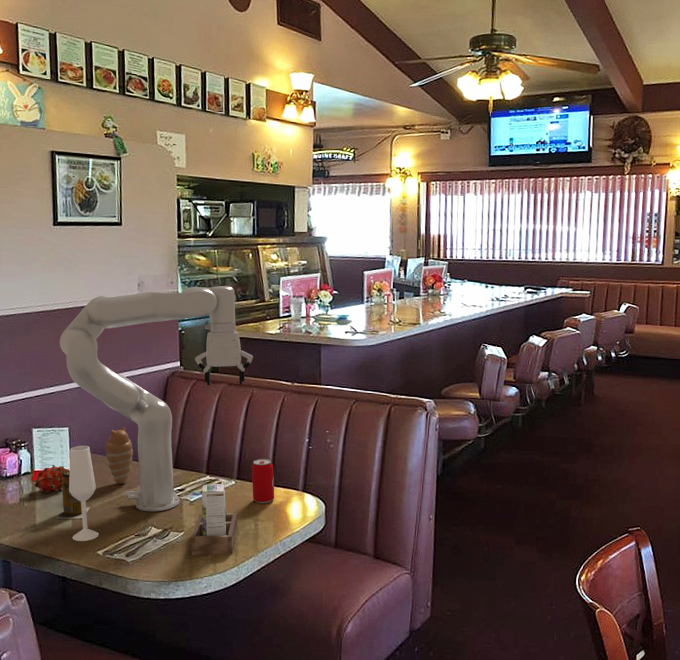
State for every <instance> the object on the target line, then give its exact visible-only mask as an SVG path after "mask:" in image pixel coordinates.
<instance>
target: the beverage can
mask: <svg viewBox="0 0 680 660" xmlns="http://www.w3.org/2000/svg"><path fill="white" fill-rule="evenodd" d="M251 478H252V479H251V480H252V483H251V484H252V499H253V501H254V502H256V503H258V504H269V503H270V502H272V501H273V500H274V499H275V487H274V486H275V480H274V465H273V463H272V460H270V459H267V458H258V459H256V460H255V459H254V460H253V464H252V465H251Z"/></svg>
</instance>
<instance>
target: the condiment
mask: <svg viewBox="0 0 680 660" xmlns="http://www.w3.org/2000/svg"><path fill="white" fill-rule="evenodd" d="M69 477H70V469H69V470H68V471H66V472H64V473H63V482H62V488H61V489H62V490H61V491H62V493H61V494H62V506H63V507H62V508H63V510H61V512H60V513H59V514H58V515H57V516H56V519H58V520H59V519H61V520H64V519H65V520H68V519H69V520H72V519H82V508H81V501H79V500H77V499H76V498H74V497H73V496H72V495H71V493H70V492H69ZM90 508H91V506H89V507H88V506H86V513H88V512H89V510H90Z"/></svg>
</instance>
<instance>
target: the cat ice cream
mask: <svg viewBox="0 0 680 660" xmlns="http://www.w3.org/2000/svg"><path fill="white" fill-rule="evenodd" d="M129 437H130V436H129V435H128V433H127V432H126V426H123V427H121V428H120V429H117V430H114V429H111V430H110V435H109V437H108V440H107V442H106V444H105V446H104V451H105V452H106V456H105V457H106V460H107V461H108V468H109V469H110V472H111V475H112V476H113V479H114V481H115V483H116V484H120V485H123V484H126V483H127V481H128V480H129V474H130V472H131V468H132V463H133V455H134V449H133V443H132V440H131V439H130V438H129Z"/></svg>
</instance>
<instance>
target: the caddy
mask: <svg viewBox="0 0 680 660" xmlns="http://www.w3.org/2000/svg"><path fill="white" fill-rule="evenodd" d="M225 514H226V535H223V536H203V522H202V513H199V514H198V517H197V520H196V523H195V526H194V529H193V531H192V534H191V537H190V543H191V544H190V545H191V547H190V548H191V556H192V555H193V556H213V555H214V556H215V555H233V553H234V549H235V543H236V540H237V539H236V538H237V533H238V529H239V527H238V512H228V513H226V512H225ZM201 554H202V555H201Z"/></svg>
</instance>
